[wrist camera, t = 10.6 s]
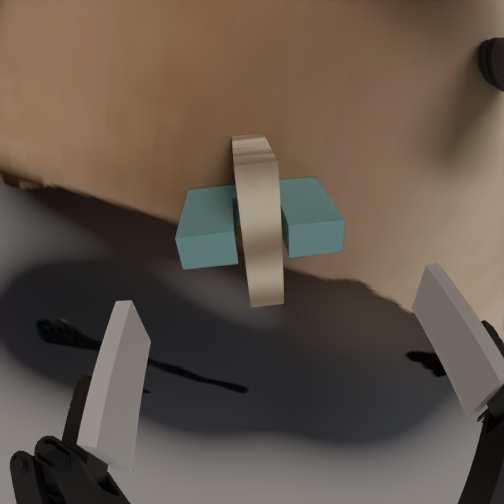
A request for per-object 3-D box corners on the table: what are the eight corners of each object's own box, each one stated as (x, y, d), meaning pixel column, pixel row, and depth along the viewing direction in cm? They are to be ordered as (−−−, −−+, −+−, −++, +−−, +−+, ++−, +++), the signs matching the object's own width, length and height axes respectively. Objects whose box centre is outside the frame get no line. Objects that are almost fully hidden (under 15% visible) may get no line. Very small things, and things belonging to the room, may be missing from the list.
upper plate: (231, 136, 29) (233, 166, 21) (262, 133, 29) (278, 161, 21) (245, 249, 37) (251, 307, 29) (271, 246, 37) (283, 303, 29)
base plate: (193, 215, 34) (183, 269, 26) (188, 190, 32) (175, 238, 24) (314, 202, 34) (342, 251, 26) (314, 177, 33) (345, 219, 24)
